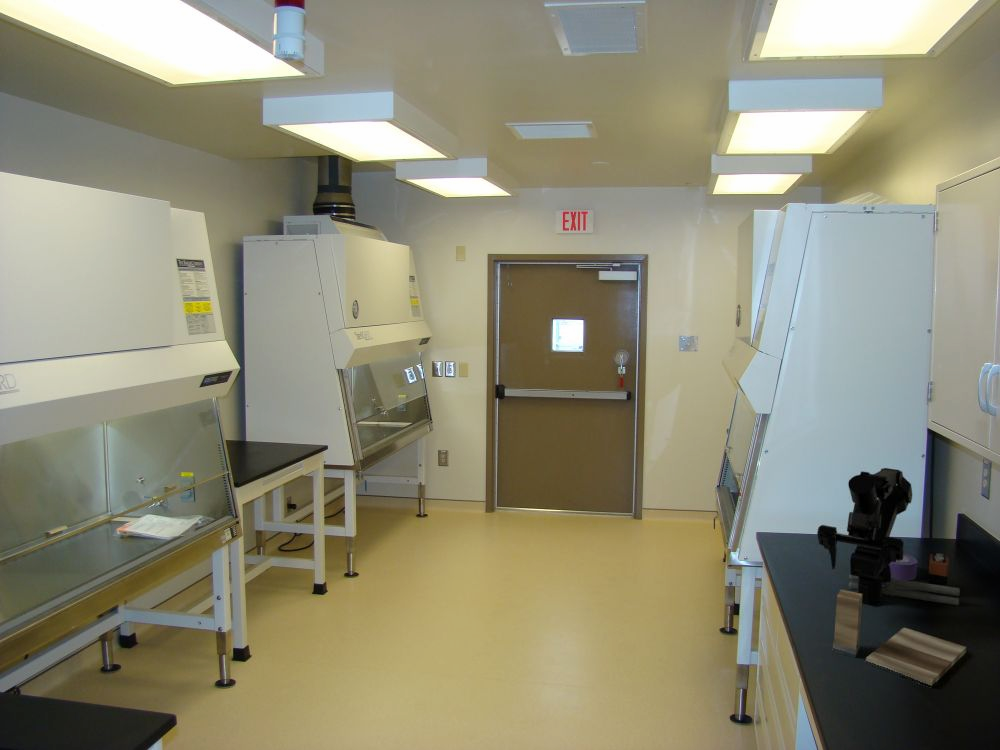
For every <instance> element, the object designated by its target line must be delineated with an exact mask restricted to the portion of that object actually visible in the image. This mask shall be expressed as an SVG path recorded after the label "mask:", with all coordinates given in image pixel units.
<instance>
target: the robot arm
mask: <svg viewBox="0 0 1000 750" xmlns="http://www.w3.org/2000/svg"><path fill="white" fill-rule="evenodd" d="M847 485H848V490H849V492H850V497H851V501H852V503H853V504H854V505H853V510H852V511H849V514H848V519H847V526H846V531H847V533H848V534H846V533H838V529H837V526H830V525H825V524H821V525H820V526H818V529H817V539H818V544H819V545H820V546H823V548H824V549H826V550H828V553H829V556H830V561H831V562H830V563H831V568H832V570H835V568H836V563H837V552H838V549H837V545H838V542H840V543H846V544H850V545H855V546H856V547H855V548H854V552H851V555H850V559H849V561H850V562H849V563H850V564H849V567H850V568H849V569H850V574H851V575H852V576H853V575H854V576H858V581H856V582H857V590H856V593H860V594H862V603H864V604H868V605H871V606H874V607H878V606H880V605H881V604H882V603H884V602H885V601H887V599H886V597H884V596H882V594H881V590H882V586H883V585H882V582H883V583H886V582H891V569H890V566H889V564H890V563H891V562H896V560H903V556H904V554H905V542H904V540H903V539H902V538H900V537H893V536H891V533H892V530H893V527H894V524H895V522H896V519H897V516H898V515H900V514H901V513H904V512H906V511H907V508H908V506H909V504H911V503H912V501H913V490H912V489H913V487H912V484H911V482H910V481H908V479H906V478H905V477H904V474H903V471H902V470H899V469H894V468H888V467H884V468H883V467H882V468H881V469H880V471H877V472H875V473H870V471H869V472H868V471H860V473H859V474H856V475H854V476H851V478H850V479H849V480H848V483H847Z"/></svg>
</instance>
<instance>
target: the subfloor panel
mask: <svg viewBox="0 0 1000 750" xmlns="http://www.w3.org/2000/svg"><path fill="white" fill-rule="evenodd" d="M965 653H966V654H967V646H964V645H961V644H958V643H954V642H951V641H948V640H945V639H941V638H938V637H936V636H932V635H929V634H926V633H923V632H920V631H916V630H913V629H910V628H907V627H903V628H901V629H900V630H899V631H897V633H895V634H893V636H891V638H889V639H888V640H887V641H885V642H884V643H882V644H881V645H880V646H879V647H878V648H876V649H875V650H874V651H872V652H871V653H870V654H869V655H868V656H866V657H865V662H866V661H868V662H871V663H874V664H876V665H879V666H882V667H885V668H888V669H890V670H893V671H895V672H898V673H901V674H903V675H905V676H908V677H911V678H913V679H915V680H918V681H920V682H923V683H926V684H928V685H931V686H932V685H933V684H934V683H935V682H937V681H938V680H939V679H940V678H941V677H942V676H943V675H944V674H945V673H946V672H947V671H948V670H949V669H950V668H951V667H952V666H953V665H954V664H955V663H956V662H957V661H958V660H959V659H960V658H961V657H962V656H963V655H964V654H965ZM966 654H965V655H966ZM965 655H964V656H965ZM964 656H963V657H964ZM963 657H962V658H963ZM962 658H961V659H962ZM961 659H960V660H961ZM960 660H959V661H960ZM959 661H958V662H959ZM958 662H957V663H958ZM957 663H956V664H957ZM956 664H955V665H956ZM955 665H954V666H955ZM954 666H953V667H954ZM953 667H952V668H953ZM952 668H951V669H952ZM951 669H950V670H951ZM950 670H949V671H950ZM949 671H948V672H949ZM948 672H947V673H948ZM947 673H946V674H947ZM946 674H945V675H946ZM945 675H944V676H945ZM944 676H943V677H944ZM943 677H942V678H943ZM942 678H941V679H942ZM941 679H940V680H941ZM940 680H939V681H940ZM939 681H938V682H939ZM938 682H937V683H938Z"/></svg>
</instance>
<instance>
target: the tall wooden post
mask: <svg viewBox="0 0 1000 750" xmlns="http://www.w3.org/2000/svg"><path fill="white" fill-rule="evenodd" d="M862 604H863V602H862V594H860V593H857V592H854V591H849V590H845V589H840V590H839V592H838V594H837V595H836V607H835V620H834V636H833V642H832V649H833V648H835V649H838V650H842V651H846V652H849V653H852V654H857V652H858V653H859V651H858V649H859V650H860V645H861V643H860V632H861V618H862V617H861V616H862V606H863V605H862ZM857 655H858V654H857Z"/></svg>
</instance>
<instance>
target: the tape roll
mask: <svg viewBox="0 0 1000 750" xmlns="http://www.w3.org/2000/svg"><path fill="white" fill-rule="evenodd" d="M889 566H890V569H891V577H892V578H895V579H900V580H906V581H908V580H911V581H914V580H916V578H917V571H918V560H917V558H916V557H914V556H912V555H910V554H907V553H904V556H903V560H896V562H891V563H890V564H889ZM913 579H914V580H913Z"/></svg>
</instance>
